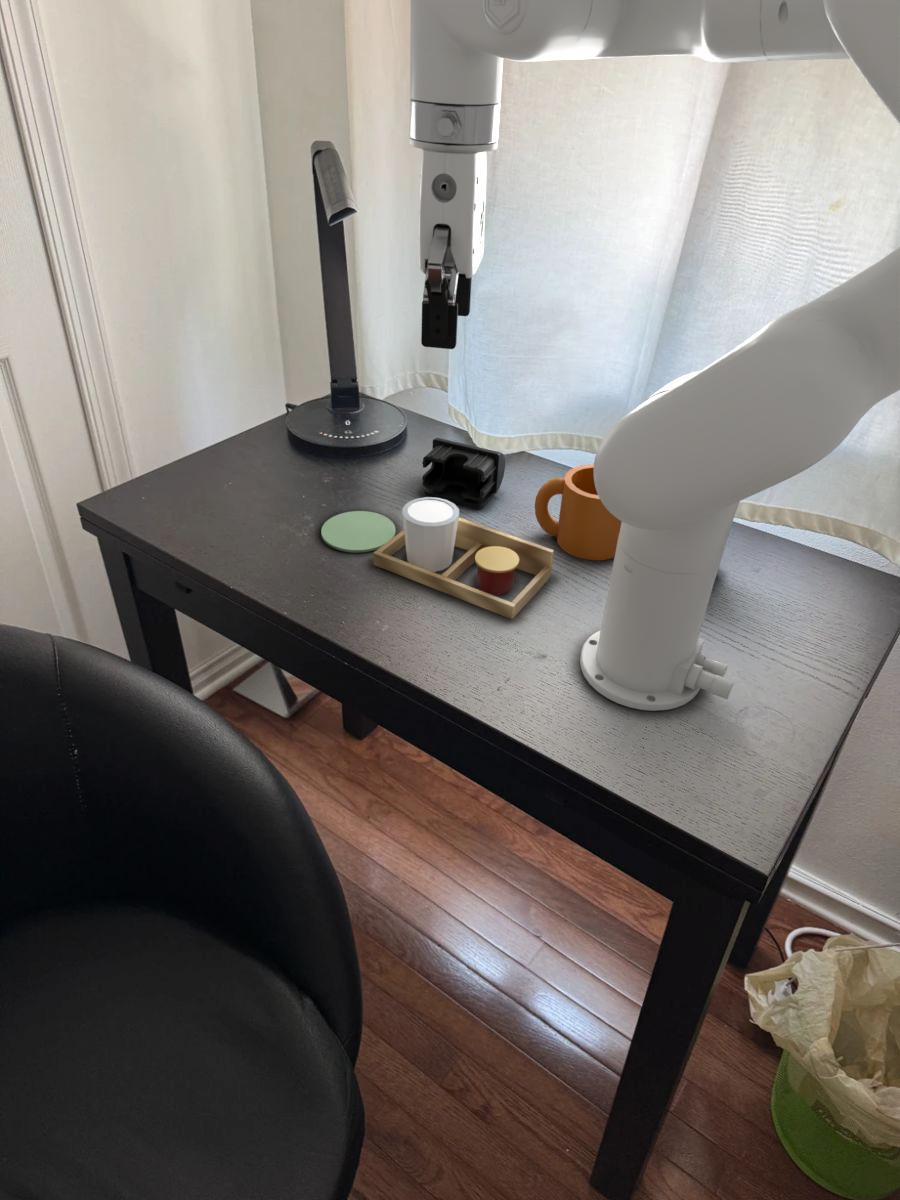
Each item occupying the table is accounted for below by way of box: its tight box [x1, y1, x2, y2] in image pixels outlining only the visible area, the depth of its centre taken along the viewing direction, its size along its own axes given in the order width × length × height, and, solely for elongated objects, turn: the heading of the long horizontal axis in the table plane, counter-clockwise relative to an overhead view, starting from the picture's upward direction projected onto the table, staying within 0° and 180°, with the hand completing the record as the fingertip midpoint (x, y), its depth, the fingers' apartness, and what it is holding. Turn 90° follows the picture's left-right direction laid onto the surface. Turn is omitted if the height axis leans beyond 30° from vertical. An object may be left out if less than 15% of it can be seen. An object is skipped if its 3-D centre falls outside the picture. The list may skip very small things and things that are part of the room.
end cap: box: [421, 437, 506, 510], centre depth 110 cm, size 10×7×7 cm
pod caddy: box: [372, 516, 555, 620], centre depth 95 cm, size 19×10×4 cm, turn 59°
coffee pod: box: [474, 546, 519, 595], centre depth 94 cm, size 5×5×4 cm
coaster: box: [320, 510, 397, 554], centre depth 103 cm, size 10×10×1 cm
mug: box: [534, 463, 622, 561], centre depth 101 cm, size 9×12×9 cm
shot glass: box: [401, 496, 460, 573], centre depth 96 cm, size 7×7×7 cm
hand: (446, 329), depth 77 cm, fingers open, 9 cm apart
